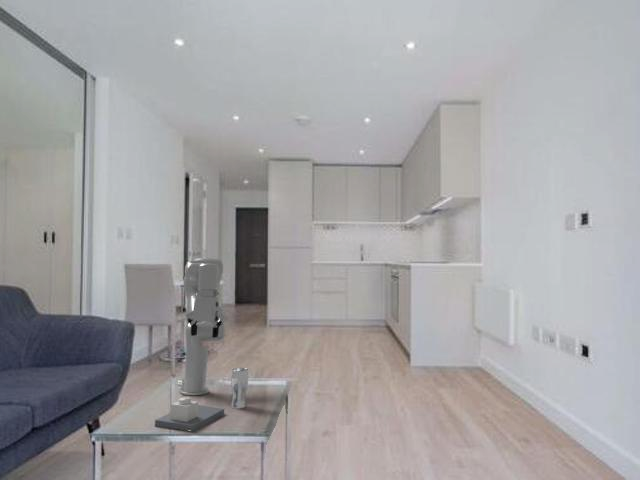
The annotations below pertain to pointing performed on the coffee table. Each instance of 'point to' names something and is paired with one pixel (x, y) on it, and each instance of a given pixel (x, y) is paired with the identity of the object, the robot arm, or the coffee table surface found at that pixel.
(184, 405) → the knob
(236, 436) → the coffee table surface
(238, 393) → the beer glass
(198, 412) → the flat gray board
